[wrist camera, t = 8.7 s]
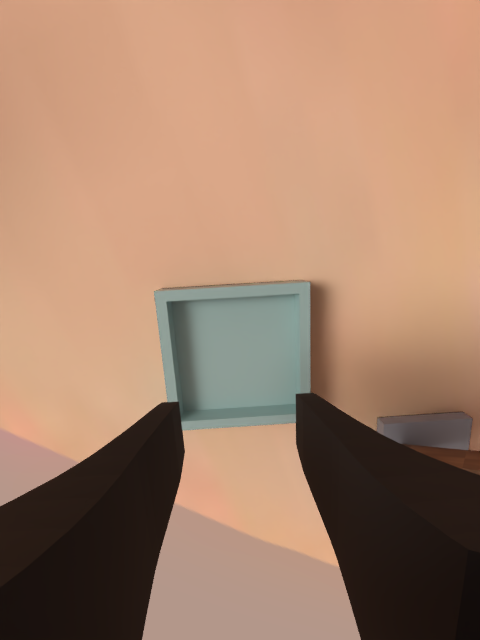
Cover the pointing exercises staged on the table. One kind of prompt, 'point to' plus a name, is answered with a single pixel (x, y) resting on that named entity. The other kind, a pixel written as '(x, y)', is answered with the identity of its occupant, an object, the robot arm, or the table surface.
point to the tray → (235, 351)
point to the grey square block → (428, 429)
